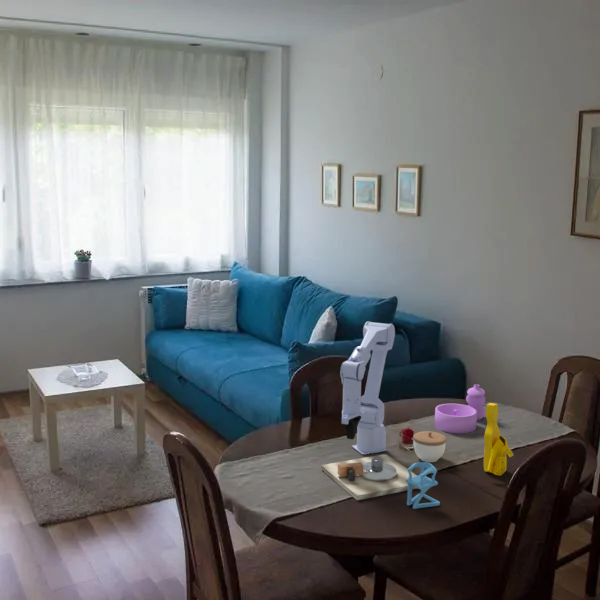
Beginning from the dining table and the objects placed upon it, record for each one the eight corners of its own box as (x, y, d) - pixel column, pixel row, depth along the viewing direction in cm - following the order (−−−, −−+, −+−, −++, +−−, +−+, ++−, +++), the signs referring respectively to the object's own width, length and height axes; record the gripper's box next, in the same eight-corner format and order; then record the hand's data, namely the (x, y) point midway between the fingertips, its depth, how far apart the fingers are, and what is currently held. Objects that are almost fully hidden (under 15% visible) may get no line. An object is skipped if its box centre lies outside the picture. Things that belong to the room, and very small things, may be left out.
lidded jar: (448, 455, 251) (449, 429, 249) (440, 467, 241) (441, 440, 240) (417, 450, 255) (418, 424, 254) (408, 461, 246) (409, 434, 244)
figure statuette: (493, 483, 230) (498, 415, 226) (470, 476, 235) (474, 409, 231) (518, 465, 243) (522, 401, 239) (495, 459, 248) (499, 396, 244)
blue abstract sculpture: (400, 502, 217) (402, 463, 214) (421, 495, 221) (423, 457, 219) (419, 512, 210) (421, 472, 208) (440, 505, 215) (442, 465, 213)
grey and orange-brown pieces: (387, 463, 239) (388, 451, 239) (402, 479, 228) (402, 466, 227) (332, 469, 235) (333, 456, 234) (344, 485, 223) (345, 471, 222)
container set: (461, 436, 269) (463, 401, 267) (426, 426, 280) (427, 392, 277) (497, 420, 287) (499, 387, 284) (463, 410, 297) (464, 379, 295)
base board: (385, 458, 249) (386, 445, 248) (426, 486, 227) (426, 472, 226) (321, 469, 239) (321, 456, 238) (357, 500, 217) (357, 485, 216)
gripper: (357, 406, 230) (356, 448, 232) (369, 392, 243) (368, 432, 246) (335, 403, 232) (334, 444, 235) (349, 390, 245) (348, 429, 248)
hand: (350, 438), depth 240 cm, fingers closed
